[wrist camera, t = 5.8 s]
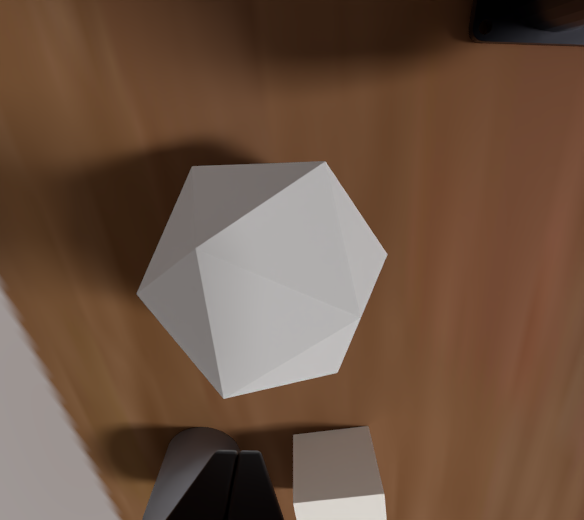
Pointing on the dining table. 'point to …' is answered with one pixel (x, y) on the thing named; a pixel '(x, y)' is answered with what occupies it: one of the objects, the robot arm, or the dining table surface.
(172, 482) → the grey rounded piece
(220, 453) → the robot arm
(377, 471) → the cream block
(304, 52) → the dining table surface
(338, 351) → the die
